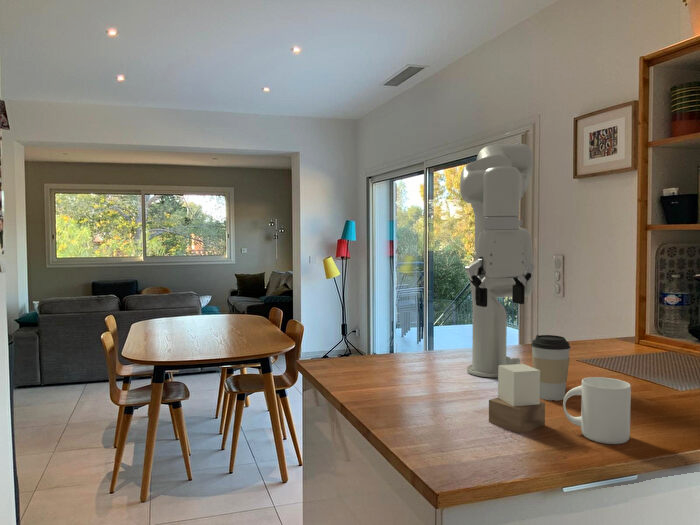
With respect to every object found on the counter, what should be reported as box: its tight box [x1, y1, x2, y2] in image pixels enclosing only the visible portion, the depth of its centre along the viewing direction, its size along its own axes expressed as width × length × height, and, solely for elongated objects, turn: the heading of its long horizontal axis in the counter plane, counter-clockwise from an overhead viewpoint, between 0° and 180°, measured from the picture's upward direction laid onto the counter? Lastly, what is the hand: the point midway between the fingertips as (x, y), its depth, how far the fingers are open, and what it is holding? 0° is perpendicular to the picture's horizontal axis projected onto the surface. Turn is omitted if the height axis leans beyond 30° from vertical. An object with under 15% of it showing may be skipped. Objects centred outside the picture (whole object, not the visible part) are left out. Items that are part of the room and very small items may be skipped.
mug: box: [562, 376, 632, 445], centre depth 104 cm, size 9×12×11 cm
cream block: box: [497, 363, 541, 406], centre depth 110 cm, size 6×6×7 cm
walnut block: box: [488, 397, 546, 434], centre depth 111 cm, size 8×8×5 cm
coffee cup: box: [530, 334, 571, 401], centre depth 130 cm, size 9×9×15 cm
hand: (500, 304), depth 114 cm, fingers open, 9 cm apart
